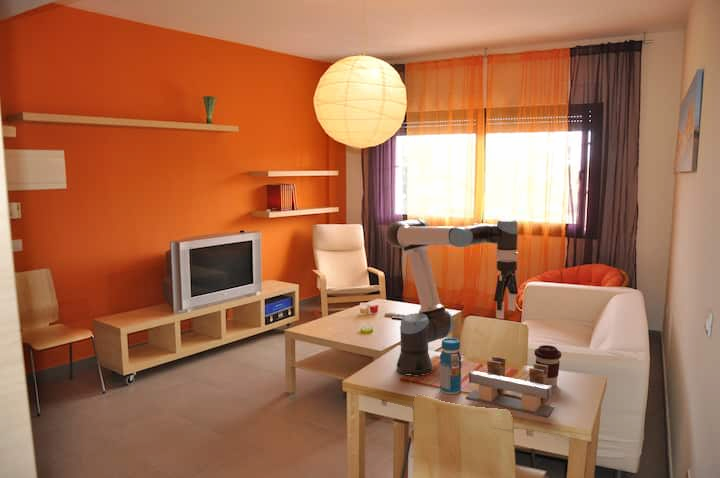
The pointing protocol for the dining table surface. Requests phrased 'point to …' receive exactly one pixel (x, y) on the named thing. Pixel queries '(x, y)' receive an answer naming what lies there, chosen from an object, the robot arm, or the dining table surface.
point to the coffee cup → (549, 362)
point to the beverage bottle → (450, 366)
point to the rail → (511, 384)
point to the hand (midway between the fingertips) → (505, 314)
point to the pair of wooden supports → (536, 374)
